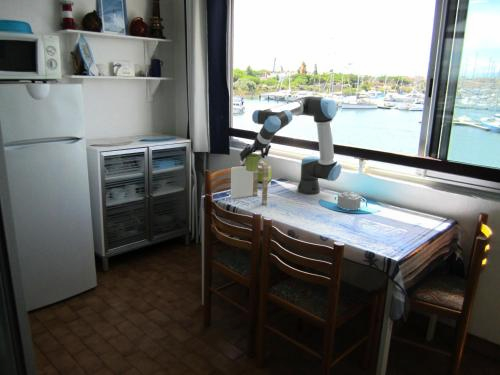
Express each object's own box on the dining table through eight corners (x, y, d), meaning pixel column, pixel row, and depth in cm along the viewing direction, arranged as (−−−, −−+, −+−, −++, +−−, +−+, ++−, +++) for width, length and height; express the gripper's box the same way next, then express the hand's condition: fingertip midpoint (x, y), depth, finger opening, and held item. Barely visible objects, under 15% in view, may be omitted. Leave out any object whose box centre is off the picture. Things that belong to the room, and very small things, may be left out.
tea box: (246, 187, 278) (246, 166, 274) (250, 183, 287) (251, 163, 283) (267, 189, 274) (268, 168, 270) (271, 185, 283) (271, 165, 279)
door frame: (266, 204, 242) (268, 164, 235) (263, 205, 241) (264, 165, 234) (256, 194, 261) (257, 157, 254) (252, 195, 260) (253, 157, 253)
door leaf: (231, 198, 250) (231, 167, 245) (229, 196, 253) (229, 166, 247) (252, 195, 257) (253, 165, 251) (250, 194, 259) (251, 165, 254)
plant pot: (258, 172, 225) (258, 157, 222) (241, 171, 226) (241, 156, 224) (260, 169, 234) (261, 154, 231) (244, 168, 235) (245, 153, 233)
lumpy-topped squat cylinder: (353, 211, 234) (355, 197, 231) (333, 206, 242) (334, 192, 239) (361, 207, 241) (363, 193, 239) (342, 203, 249) (343, 189, 247)
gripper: (246, 145, 207) (233, 169, 225) (283, 143, 217) (267, 166, 235) (242, 134, 211) (229, 158, 228) (279, 132, 220) (263, 156, 238)
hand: (249, 162), depth 232 cm, fingers closed on plant pot, 9 cm apart
